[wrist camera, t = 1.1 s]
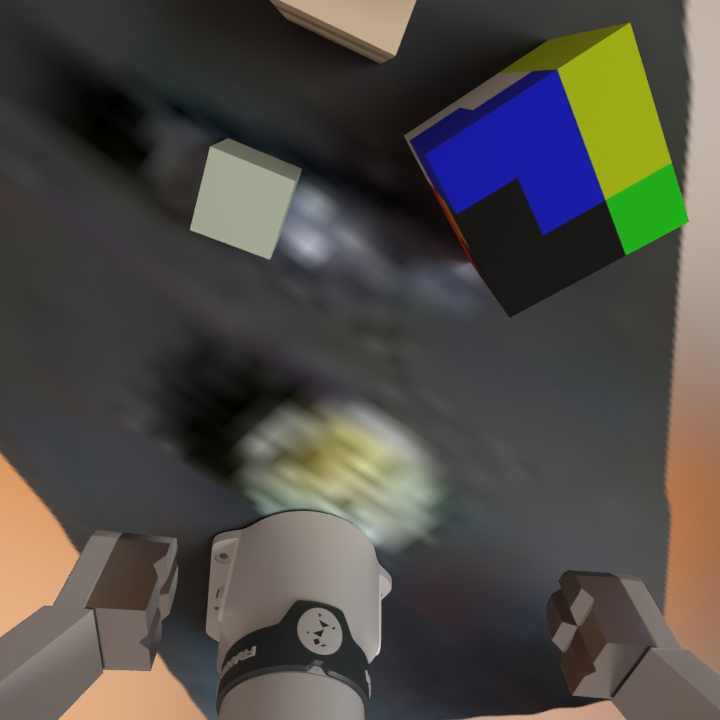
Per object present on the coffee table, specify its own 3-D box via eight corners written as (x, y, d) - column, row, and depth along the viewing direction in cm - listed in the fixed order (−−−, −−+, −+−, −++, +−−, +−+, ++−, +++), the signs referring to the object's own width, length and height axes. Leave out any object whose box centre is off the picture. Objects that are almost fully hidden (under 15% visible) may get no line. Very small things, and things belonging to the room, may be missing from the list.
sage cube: (279, 238, 36) (269, 259, 31) (209, 211, 35) (189, 229, 30) (302, 168, 34) (295, 181, 29) (228, 138, 33) (210, 146, 28)
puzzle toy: (403, 135, 33) (425, 154, 24) (547, 40, 30) (630, 22, 22) (470, 262, 37) (509, 317, 28) (601, 186, 35) (688, 221, 26)
